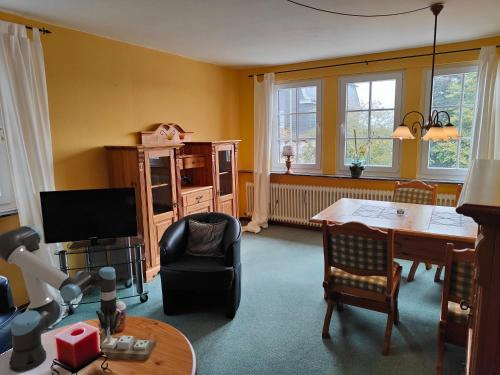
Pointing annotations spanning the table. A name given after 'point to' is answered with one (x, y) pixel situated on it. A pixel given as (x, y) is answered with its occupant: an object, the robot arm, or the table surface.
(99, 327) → the figurine
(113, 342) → the die
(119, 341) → the die
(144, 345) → the die
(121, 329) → the smoothie
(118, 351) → the board
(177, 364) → the table surface
